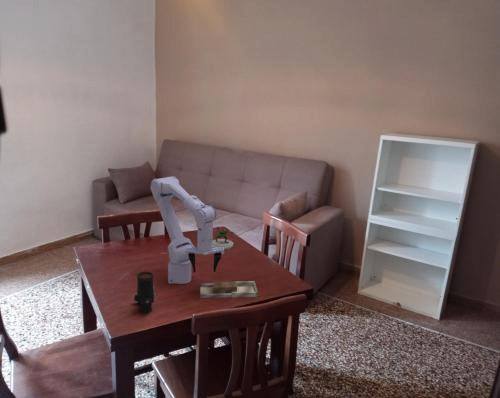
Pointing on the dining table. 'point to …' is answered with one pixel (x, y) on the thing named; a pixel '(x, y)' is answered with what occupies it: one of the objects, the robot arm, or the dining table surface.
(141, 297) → the scope
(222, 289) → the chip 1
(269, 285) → the dining table surface
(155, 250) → the dining table surface
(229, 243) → the monster figurine
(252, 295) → the slot board
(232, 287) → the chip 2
